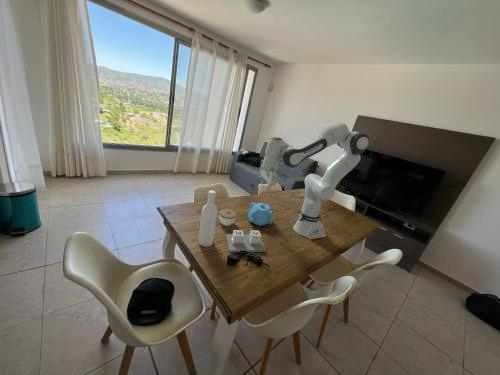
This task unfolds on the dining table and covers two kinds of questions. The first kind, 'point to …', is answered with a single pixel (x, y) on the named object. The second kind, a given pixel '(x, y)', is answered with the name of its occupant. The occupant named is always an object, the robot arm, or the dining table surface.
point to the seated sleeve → (237, 238)
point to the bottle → (208, 221)
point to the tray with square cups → (244, 244)
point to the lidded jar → (227, 217)
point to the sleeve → (254, 238)
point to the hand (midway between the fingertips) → (265, 186)
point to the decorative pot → (260, 214)
